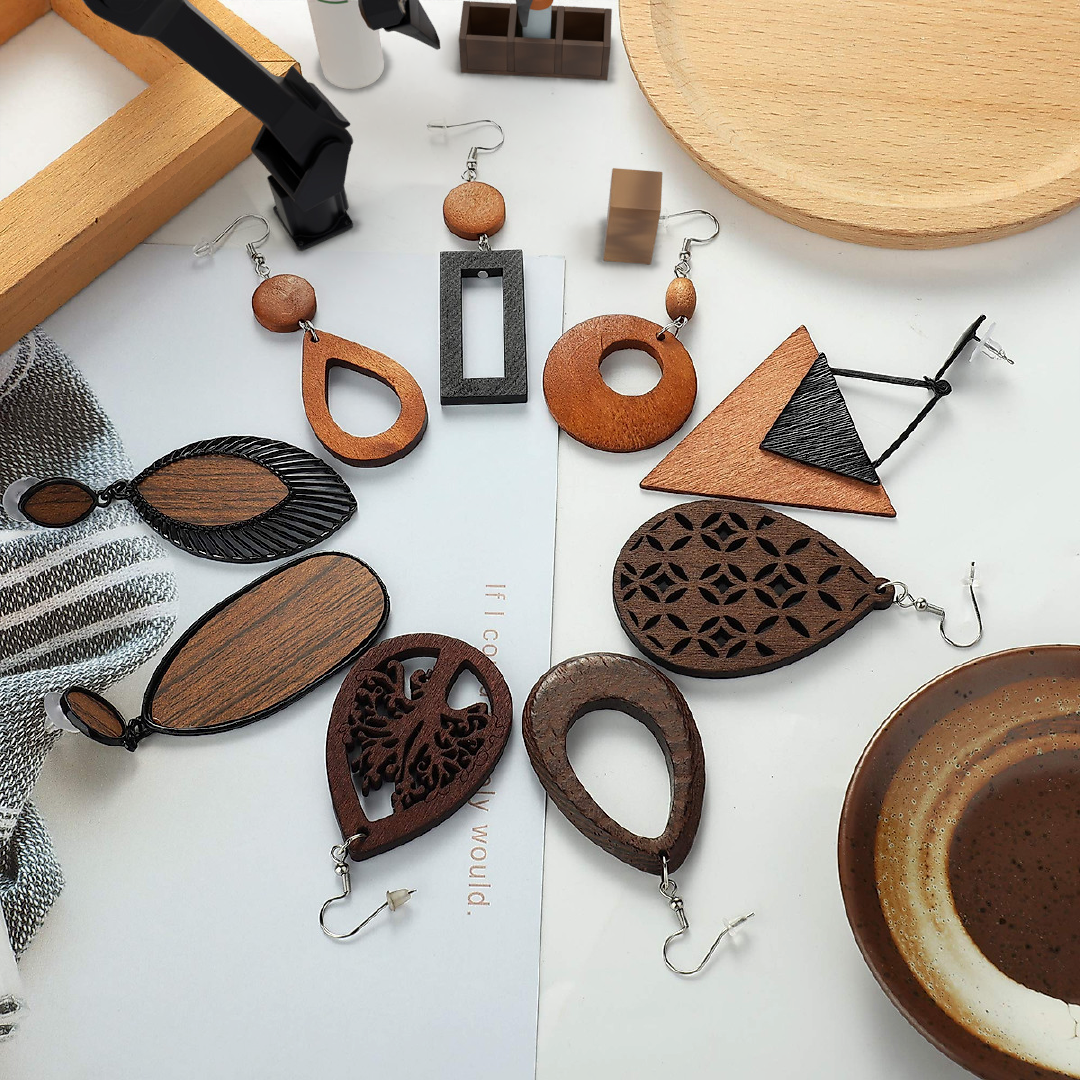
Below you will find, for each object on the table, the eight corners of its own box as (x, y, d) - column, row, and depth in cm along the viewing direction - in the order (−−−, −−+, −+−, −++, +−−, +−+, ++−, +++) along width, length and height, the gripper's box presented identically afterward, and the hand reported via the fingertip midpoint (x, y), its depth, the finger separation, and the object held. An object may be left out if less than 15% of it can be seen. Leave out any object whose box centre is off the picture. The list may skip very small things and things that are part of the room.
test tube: (549, 64, 112) (551, 2, 105) (519, 61, 113) (518, -2, 105) (553, 43, 114) (555, -21, 107) (523, 39, 114) (523, -24, 107)
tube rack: (460, 72, 113) (458, 38, 109) (465, 35, 115) (463, 0, 111) (607, 80, 113) (610, 46, 108) (608, 42, 115) (611, 8, 111)
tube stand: (603, 261, 102) (609, 206, 95) (606, 223, 104) (612, 167, 97) (651, 264, 102) (660, 210, 95) (652, 227, 104) (662, 171, 97)
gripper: (525, -198, 84) (563, -56, 99) (325, -137, 88) (391, -9, 103) (536, -92, 81) (573, 38, 96) (330, -34, 85) (396, 82, 100)
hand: (481, 34), depth 99 cm, fingers open, 9 cm apart
